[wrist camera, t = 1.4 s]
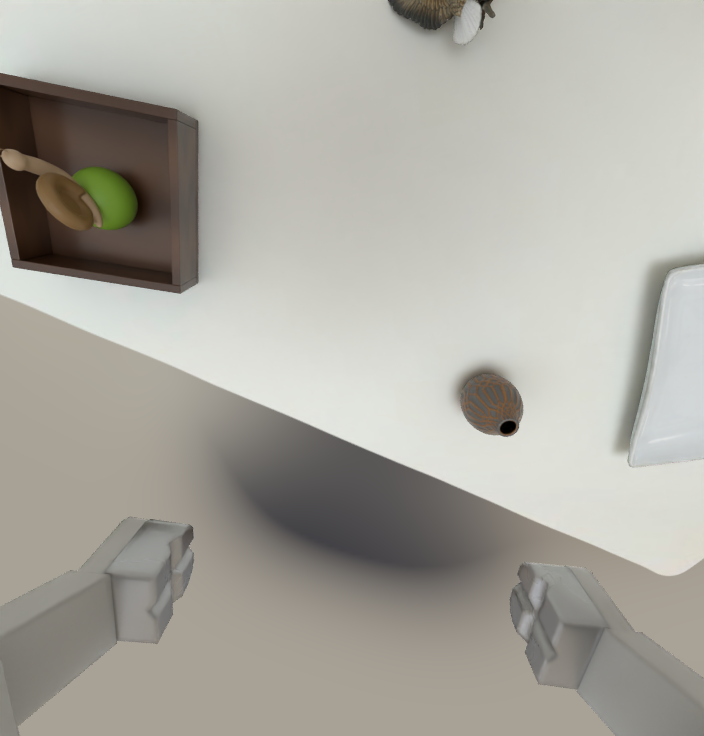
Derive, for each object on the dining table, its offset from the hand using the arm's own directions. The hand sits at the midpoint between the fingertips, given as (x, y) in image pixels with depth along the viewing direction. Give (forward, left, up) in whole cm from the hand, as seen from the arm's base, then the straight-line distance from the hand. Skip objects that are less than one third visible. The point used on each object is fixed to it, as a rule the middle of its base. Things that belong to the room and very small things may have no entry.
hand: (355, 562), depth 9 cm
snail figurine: (-5, -24, -36) cm, 43 cm away
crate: (-5, -24, -36) cm, 43 cm away
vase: (+11, +20, -36) cm, 43 cm away
